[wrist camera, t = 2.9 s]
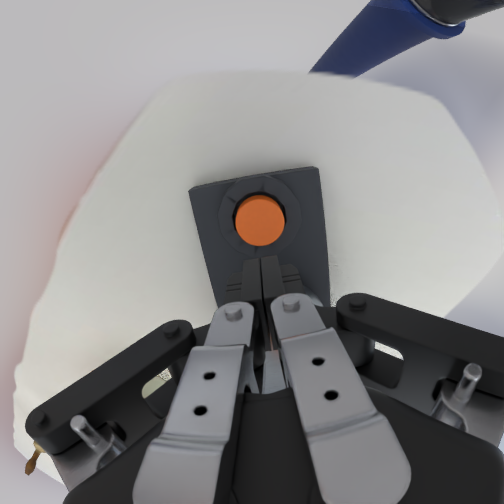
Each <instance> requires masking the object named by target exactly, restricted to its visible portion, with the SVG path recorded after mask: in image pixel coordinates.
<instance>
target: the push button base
mask: <svg viewBox="0 0 504 504" xmlns="http://www.w3.org/2000/svg"><path fill="white" fill-rule="evenodd" d="M188 192H189V196H190V201H191V205H192V209H193V213H194V218H195V222H196V226H197V230H198V234H199V238H200V242H201V246H202V250H203V254H204V258H205V262H206V266H207V270H208V273H209V277H210V281H211V285H212V288H213V292H214V296H215V299H216V303H217V306H218V308H220V307H221V306H223V304H224V298H225V292H226V287H227V280H228V278H229V277H230V276H231V275H232V274H233V273H237V272H243V261H245V260H251V259H257V258H260V263H261V258H263V257H269V256H275V255H277V258H278V262H279V266H281V265H287V264H292V265H293V266H295V267H296V268H297V269H298V272H299V275H300V278H301V281H302V284H303V286H305V287H307V288H309V289H310V290H311V291H313V292H314V293H315V294H316V295H317V296H318V298H319V299H320V301H321V303H322V305H323V307H331V305H330V284H329V267H328V253H327V241H326V230H325V219H324V210H323V201H322V192H321V184H320V176H319V169H318V168H316V167H313V166H312V167H304V168H297V169H290V170H283V171H276V172H270V173H264V174H257V175H251V176H245V177H241V178H235V179H230V180H225V181H220V182H214V183H210V184H205V185H200V186H195V187H193V188H192V189H190V190H189V191H188ZM255 195H264V196H268V197H270V198H272V199H273V200H274V201H276V202H277V204H278V205H279V207H280V209H281V211H282V213H283V216H284V229H283V231H282V233H281V235H280V236H279V238H278V239H277V240H275V241H274V242H273V243H271V244H268V245H264V246H255V245H251V244H249V243H247V242H246V241H244V240H243V239H242V238H241V237H240V236H239V234H238V232H237V229H236V224H235V221H236V215H237V211H238V209H239V207H240V205H241V204H242V202H243V201H244V200H246V199H247V198H249V197H252V196H255ZM261 268H262V267H261Z"/></svg>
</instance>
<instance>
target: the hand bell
mask: <svg viewBox="0 0 504 504" xmlns="http://www.w3.org/2000/svg"><path fill="white" fill-rule="evenodd" d="M33 444H34V446H35V448H36V450H35V452H34V454H33V456H32V458H31V459H30V460H29V461H28V462H27V464H26V468H25V473H26V474H27V475H29V474H31V473H32V472H33V471H34V469H35V466H36V460H37V458H38V457H39V455H40V453H41V452H43V453H46V452H45V451H44V450H43V448H42V447H41V446H40V445H39V444H38V443H37V442H36V441H34V443H33Z"/></svg>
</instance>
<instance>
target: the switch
mask: <svg viewBox="0 0 504 504" xmlns="http://www.w3.org/2000/svg"><path fill="white" fill-rule="evenodd" d="M235 224H236V229H237V232H238V234H239V236H240V237H241V238H242V239H243V240H244V241H246V242H247V243H249V244H251V245H255V246H264V245H268V244H271V243H273V242H274V241H275V240H277V239H278V238H279V236H280V235H281V233H282V231H283V229H284V216H283V213H282V211H281V209H280V207H279V205H278V204H277V202H276V201H274V200H273V199H272V198H270V197H268V196H264V195H255V196H252V197H249V198H247V199H246V200H244V201H243V202H242V204H241V205H240V207H239V209H238V211H237V215H236V221H235Z"/></svg>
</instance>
